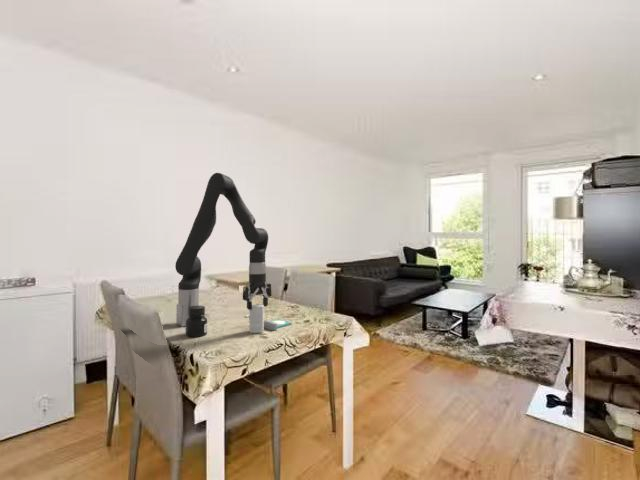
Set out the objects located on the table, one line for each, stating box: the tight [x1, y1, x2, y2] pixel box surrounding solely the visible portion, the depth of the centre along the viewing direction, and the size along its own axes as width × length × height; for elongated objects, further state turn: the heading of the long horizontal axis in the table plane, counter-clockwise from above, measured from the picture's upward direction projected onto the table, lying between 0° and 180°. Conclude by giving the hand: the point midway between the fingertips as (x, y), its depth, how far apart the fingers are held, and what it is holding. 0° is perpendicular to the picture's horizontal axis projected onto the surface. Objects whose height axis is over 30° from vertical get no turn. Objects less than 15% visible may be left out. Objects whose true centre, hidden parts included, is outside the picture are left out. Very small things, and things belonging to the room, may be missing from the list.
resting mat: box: [268, 318, 293, 329], centre depth 158 cm, size 10×10×1 cm
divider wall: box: [264, 319, 278, 332], centre depth 153 cm, size 1×14×3 cm, turn 48°
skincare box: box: [248, 304, 265, 334], centre depth 146 cm, size 6×4×12 cm
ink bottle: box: [184, 305, 208, 338], centre depth 140 cm, size 10×9×12 cm
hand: (257, 307), depth 146 cm, fingers open, 8 cm apart
